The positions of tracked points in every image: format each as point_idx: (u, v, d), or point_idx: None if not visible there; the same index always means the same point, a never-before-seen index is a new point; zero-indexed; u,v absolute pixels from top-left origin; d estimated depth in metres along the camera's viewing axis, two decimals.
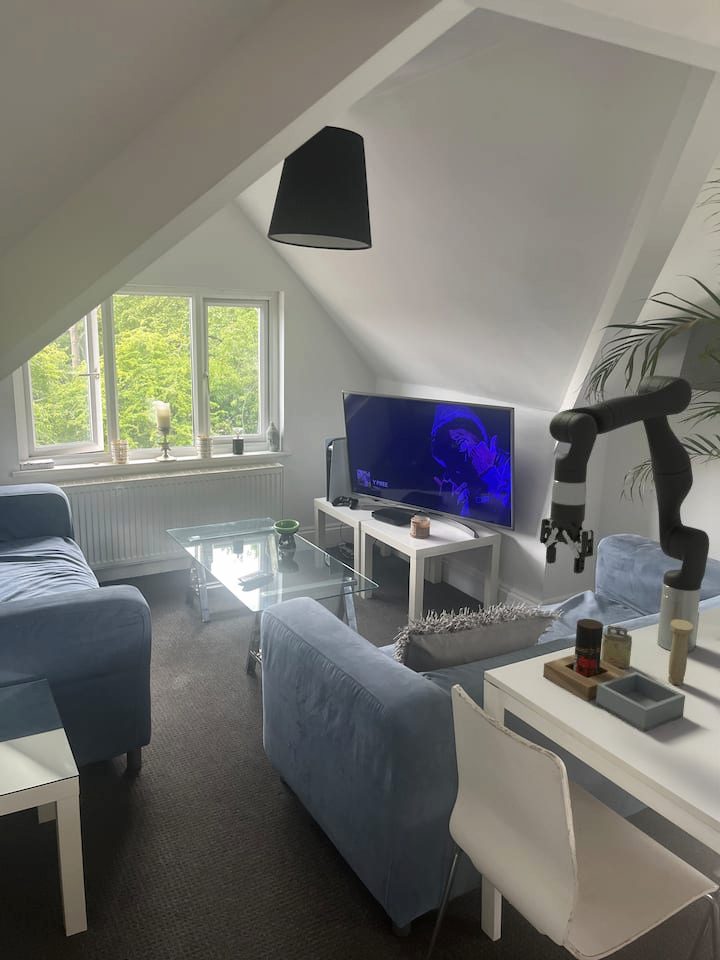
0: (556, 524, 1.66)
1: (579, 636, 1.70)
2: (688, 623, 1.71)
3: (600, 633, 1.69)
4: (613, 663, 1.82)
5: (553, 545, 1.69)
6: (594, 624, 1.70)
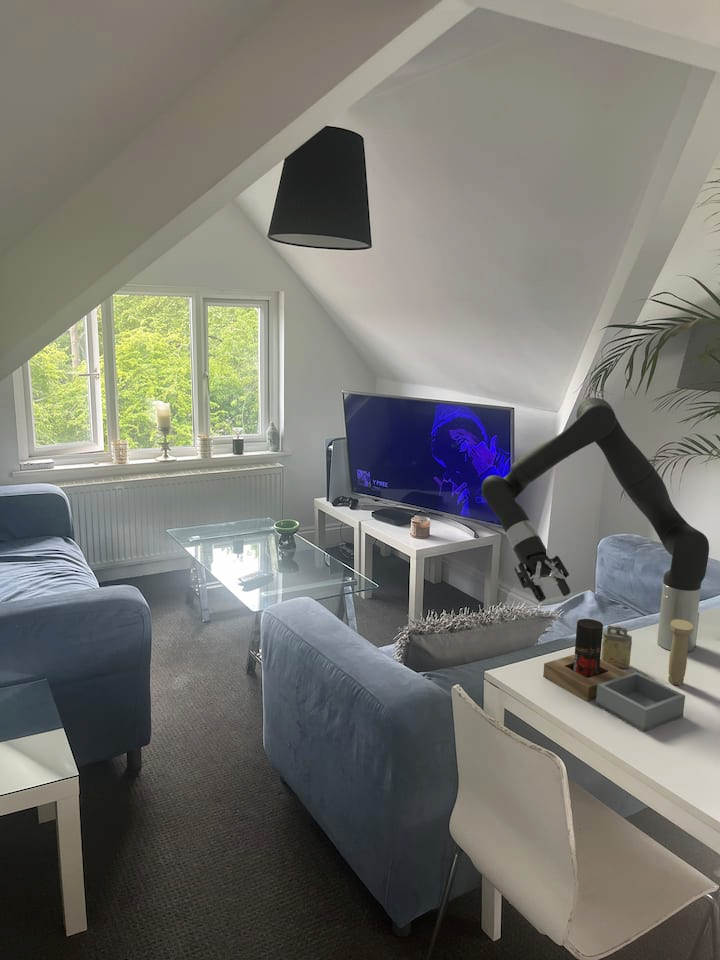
0: None
1: (579, 636, 1.70)
2: (688, 623, 1.71)
3: (600, 633, 1.69)
4: (613, 663, 1.82)
5: (559, 579, 1.83)
6: (594, 624, 1.70)
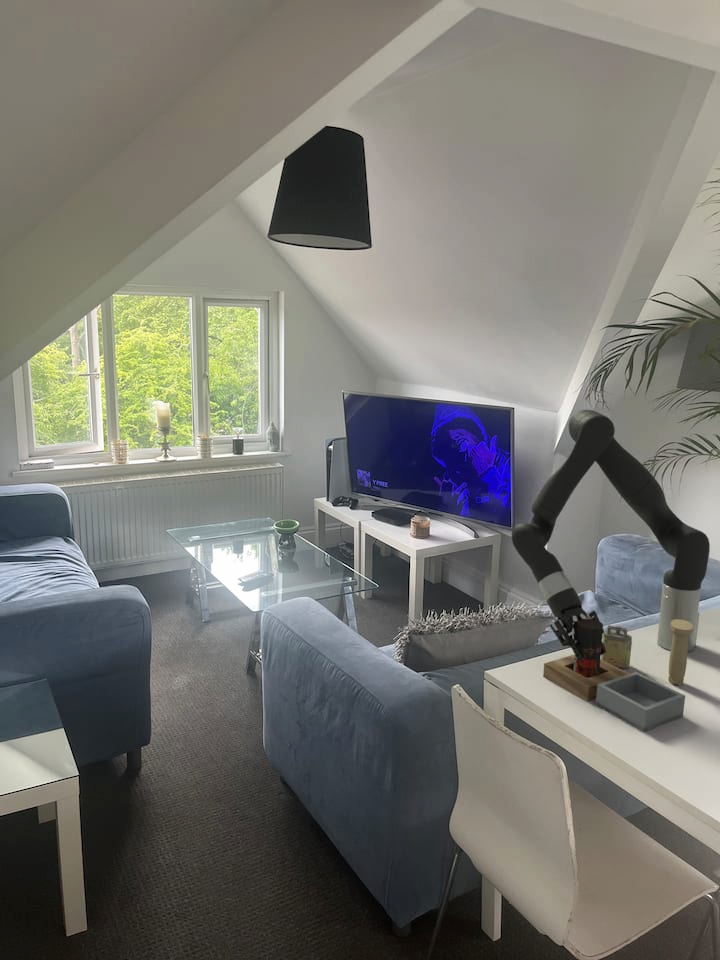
0: None
1: (579, 636, 1.70)
2: (688, 623, 1.71)
3: (600, 633, 1.69)
4: (613, 663, 1.82)
5: None
6: (594, 624, 1.70)
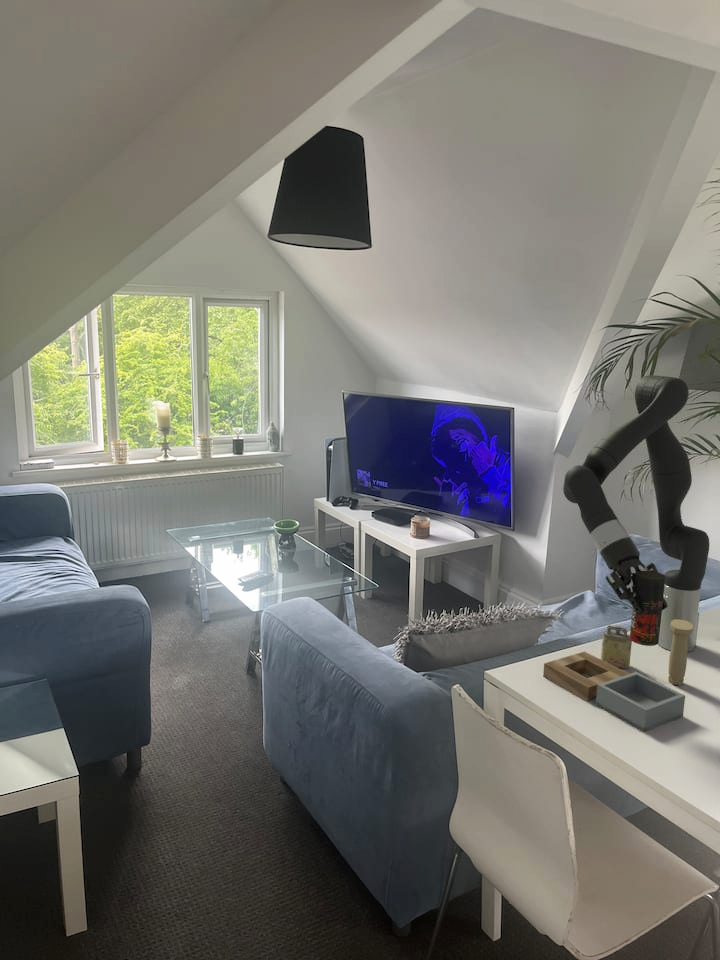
0: None
1: (638, 589, 1.54)
2: (688, 623, 1.71)
3: (662, 585, 1.52)
4: (613, 663, 1.82)
5: None
6: (655, 575, 1.54)
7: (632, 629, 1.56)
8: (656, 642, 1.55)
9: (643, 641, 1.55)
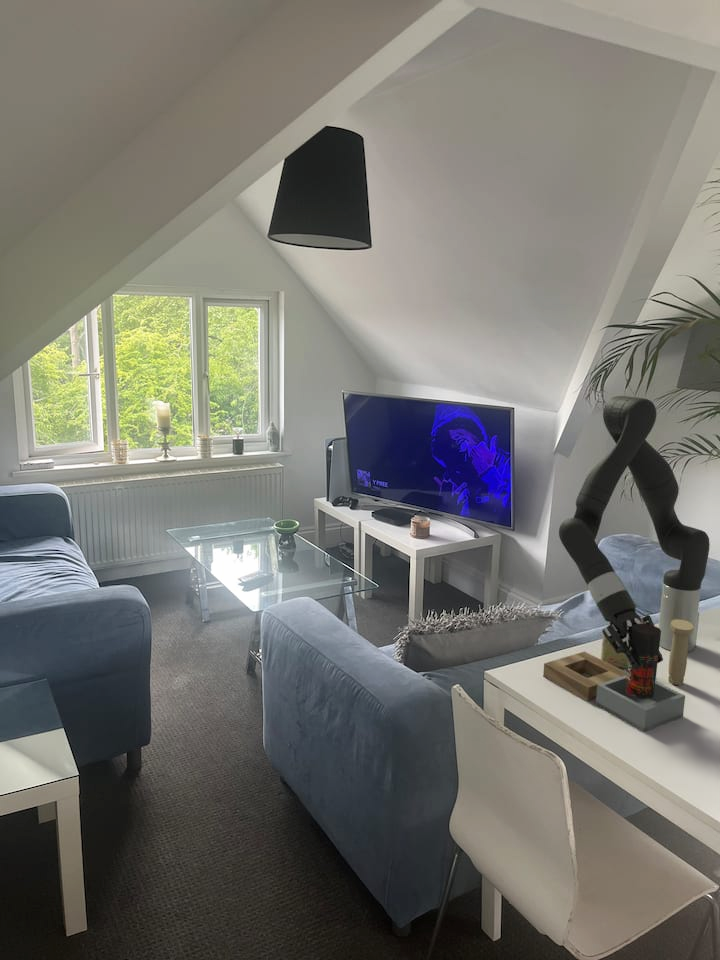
0: None
1: (634, 643, 1.56)
2: (688, 623, 1.71)
3: (658, 639, 1.55)
4: (613, 663, 1.82)
5: None
6: (651, 629, 1.56)
7: (628, 681, 1.59)
8: (651, 695, 1.57)
9: (639, 694, 1.57)
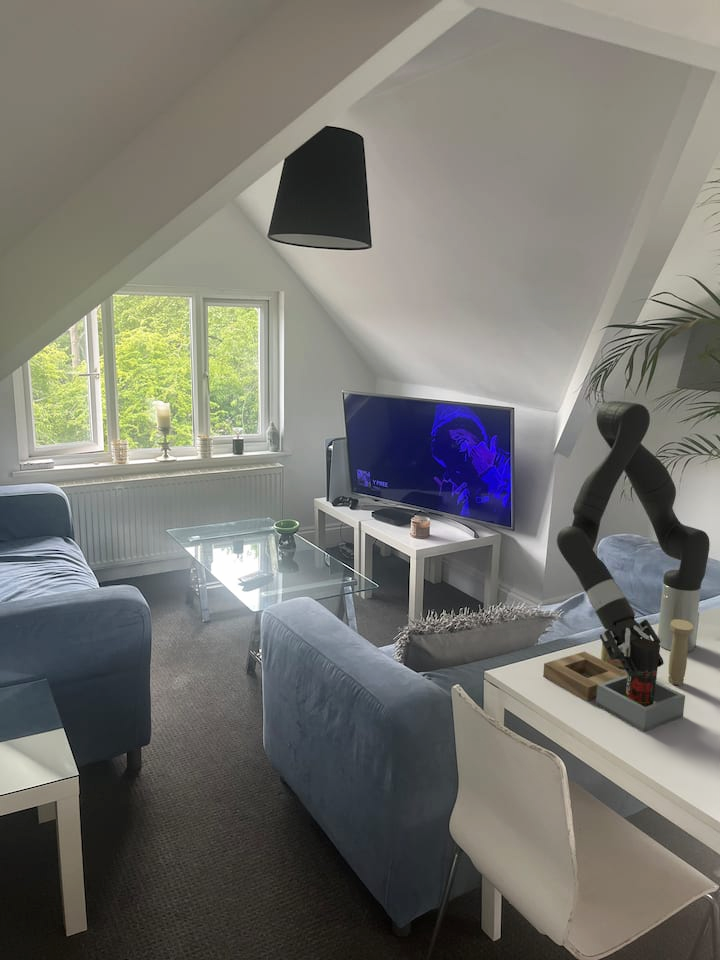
0: None
1: (633, 657, 1.57)
2: (688, 623, 1.71)
3: (657, 654, 1.56)
4: (613, 663, 1.82)
5: None
6: (650, 644, 1.57)
7: (627, 696, 1.60)
8: None
9: None
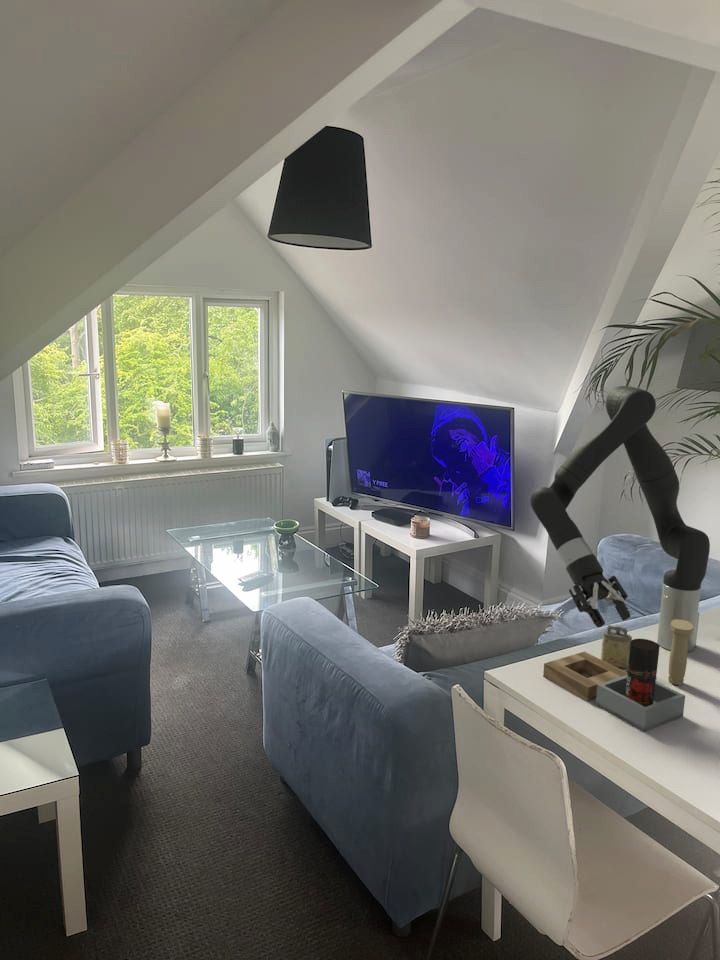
0: None
1: (633, 658, 1.57)
2: (688, 623, 1.71)
3: (656, 655, 1.55)
4: (613, 663, 1.82)
5: (617, 601, 1.68)
6: (649, 644, 1.57)
7: (627, 696, 1.60)
8: None
9: None
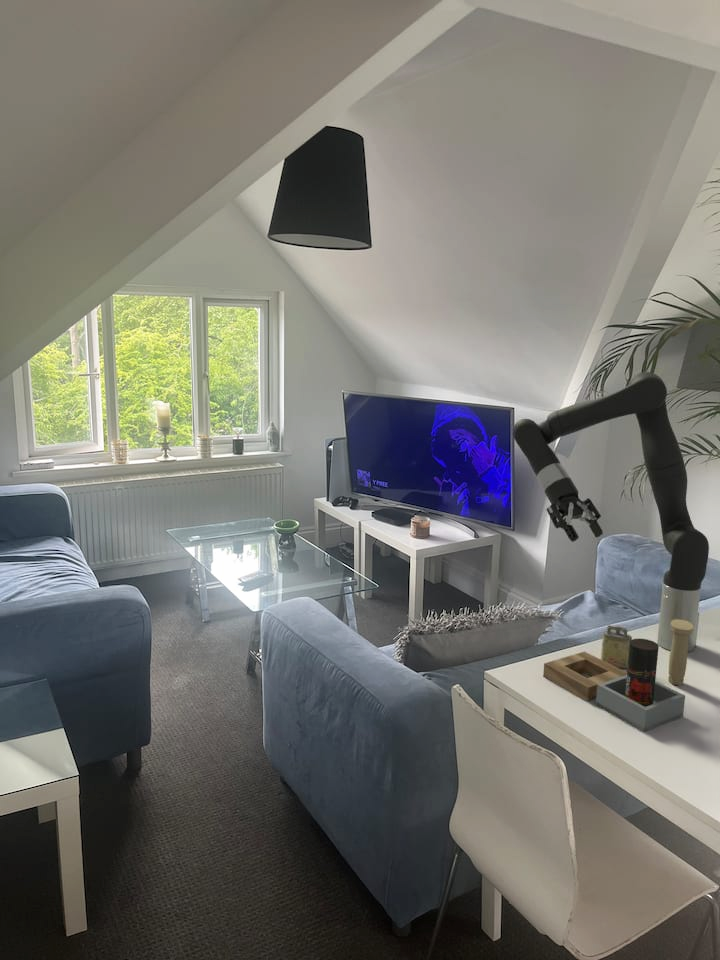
0: None
1: (632, 658, 1.57)
2: (688, 623, 1.71)
3: (655, 654, 1.55)
4: (613, 663, 1.82)
5: (591, 520, 1.83)
6: (648, 644, 1.57)
7: (626, 696, 1.60)
8: None
9: None
